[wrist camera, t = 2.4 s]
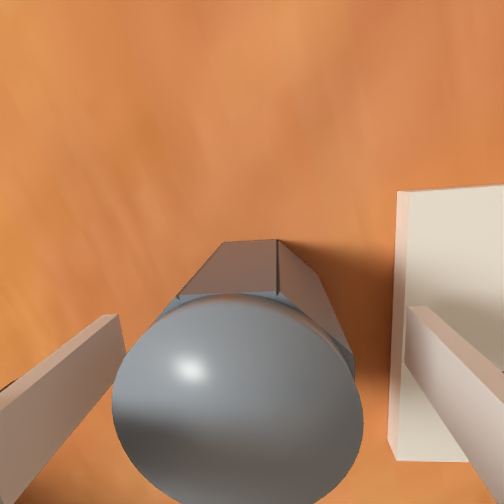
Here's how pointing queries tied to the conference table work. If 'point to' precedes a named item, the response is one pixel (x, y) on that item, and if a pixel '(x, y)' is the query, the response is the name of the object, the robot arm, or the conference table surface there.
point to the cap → (242, 385)
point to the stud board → (444, 299)
